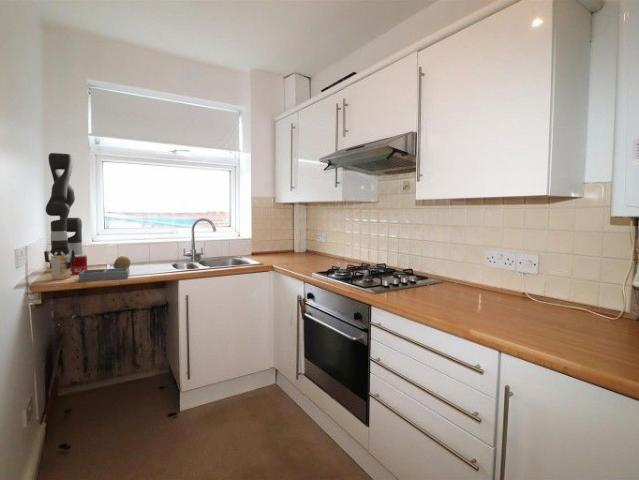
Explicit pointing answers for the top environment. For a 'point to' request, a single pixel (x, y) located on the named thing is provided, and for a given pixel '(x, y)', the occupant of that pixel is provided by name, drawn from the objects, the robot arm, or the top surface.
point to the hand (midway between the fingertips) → (60, 269)
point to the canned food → (79, 264)
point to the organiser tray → (103, 274)
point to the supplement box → (59, 267)
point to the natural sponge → (122, 262)
